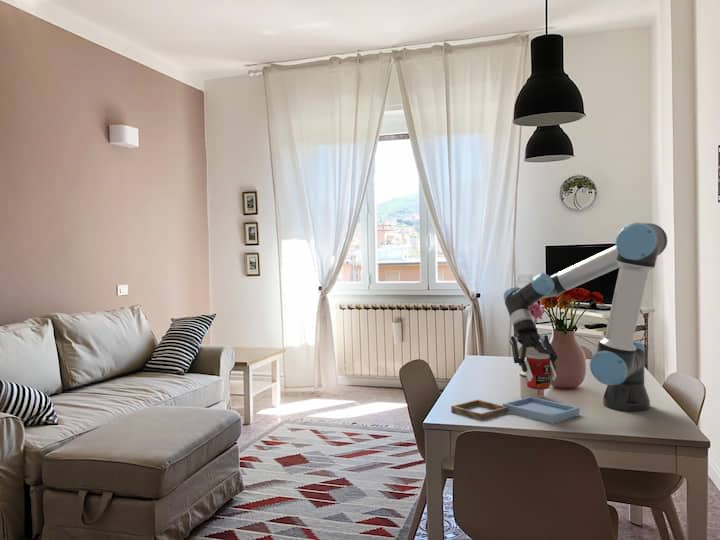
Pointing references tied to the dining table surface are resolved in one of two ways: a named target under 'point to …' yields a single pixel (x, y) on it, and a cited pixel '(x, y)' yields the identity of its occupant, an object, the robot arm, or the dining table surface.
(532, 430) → the dining table surface
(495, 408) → the frame
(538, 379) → the canned food
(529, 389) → the teacup with lid
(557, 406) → the slate-blue tray
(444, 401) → the dining table surface
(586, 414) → the dining table surface
